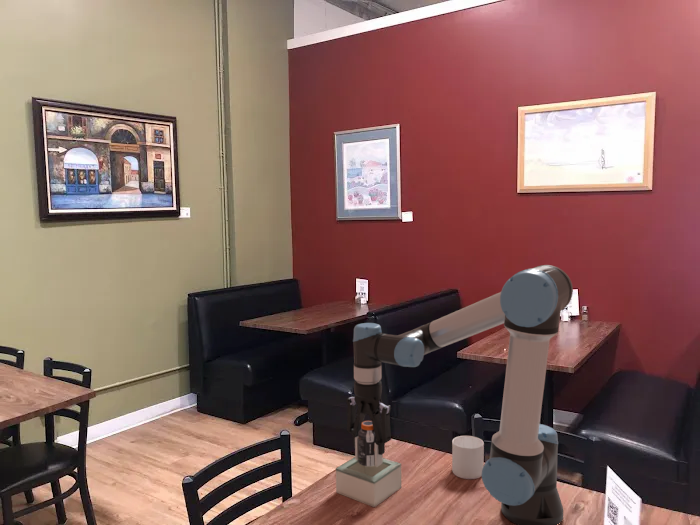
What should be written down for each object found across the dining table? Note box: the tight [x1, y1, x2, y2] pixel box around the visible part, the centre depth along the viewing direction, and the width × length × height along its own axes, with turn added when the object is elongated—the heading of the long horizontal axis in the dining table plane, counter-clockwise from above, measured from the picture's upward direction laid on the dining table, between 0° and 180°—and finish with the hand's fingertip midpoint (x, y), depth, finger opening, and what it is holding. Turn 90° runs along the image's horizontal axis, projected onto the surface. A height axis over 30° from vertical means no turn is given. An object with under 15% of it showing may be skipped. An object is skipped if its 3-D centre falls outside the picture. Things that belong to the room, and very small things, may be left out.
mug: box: [451, 435, 485, 480], centre depth 170 cm, size 12×9×9 cm
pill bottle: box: [358, 420, 377, 467], centre depth 158 cm, size 6×6×11 cm
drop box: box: [335, 456, 402, 508], centre depth 159 cm, size 13×13×7 cm
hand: (368, 461), depth 159 cm, fingers closed on pill bottle, 6 cm apart
